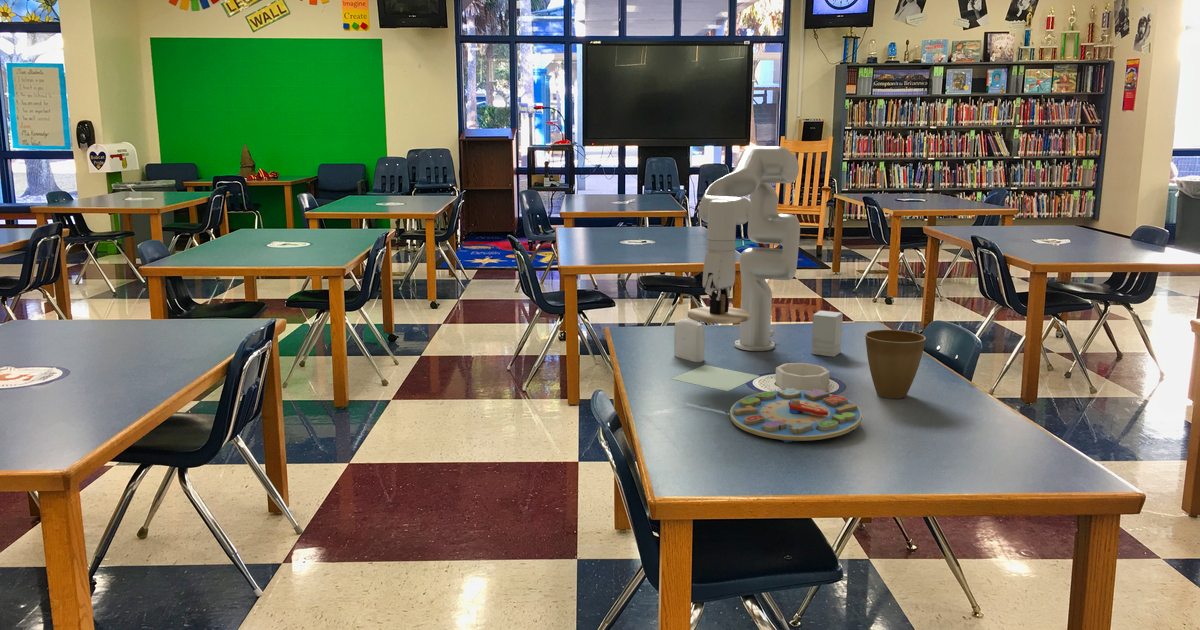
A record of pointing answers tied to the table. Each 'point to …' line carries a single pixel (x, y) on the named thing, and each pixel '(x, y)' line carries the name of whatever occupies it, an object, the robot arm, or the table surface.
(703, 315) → the lid
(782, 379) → the bowl
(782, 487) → the table surface
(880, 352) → the plant pot
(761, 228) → the robot arm
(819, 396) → the shape sorting clock
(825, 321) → the supplement box
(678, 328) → the photo printer
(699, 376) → the mat
